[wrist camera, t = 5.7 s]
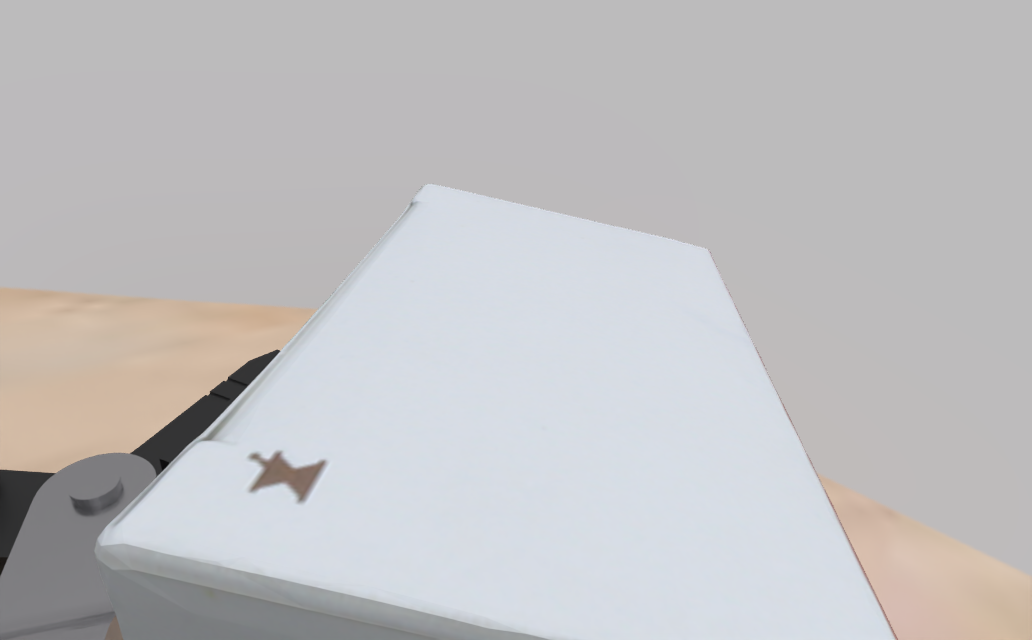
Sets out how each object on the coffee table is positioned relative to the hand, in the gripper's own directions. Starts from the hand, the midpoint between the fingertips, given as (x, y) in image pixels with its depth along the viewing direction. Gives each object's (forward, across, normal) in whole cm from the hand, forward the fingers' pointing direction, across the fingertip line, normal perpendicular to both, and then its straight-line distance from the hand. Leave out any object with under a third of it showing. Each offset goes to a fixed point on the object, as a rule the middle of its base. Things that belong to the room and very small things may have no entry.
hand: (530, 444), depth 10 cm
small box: (-2, 0, +7) cm, 7 cm away
